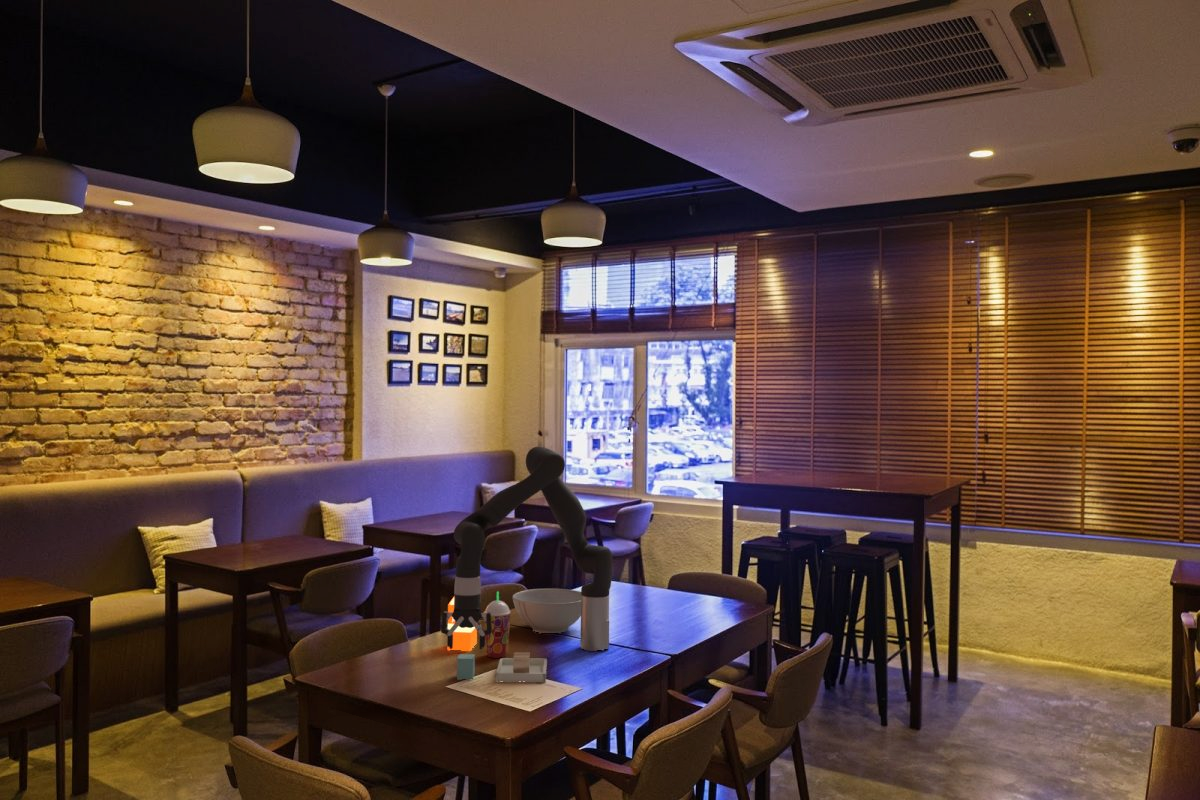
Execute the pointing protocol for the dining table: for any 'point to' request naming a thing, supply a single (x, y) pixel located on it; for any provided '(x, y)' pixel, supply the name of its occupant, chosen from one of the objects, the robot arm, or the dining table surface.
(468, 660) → the teal block
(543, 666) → the tray
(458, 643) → the orange juice
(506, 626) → the smoothie
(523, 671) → the beech block
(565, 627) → the decorative bowl
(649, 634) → the dining table surface
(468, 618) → the robot arm
